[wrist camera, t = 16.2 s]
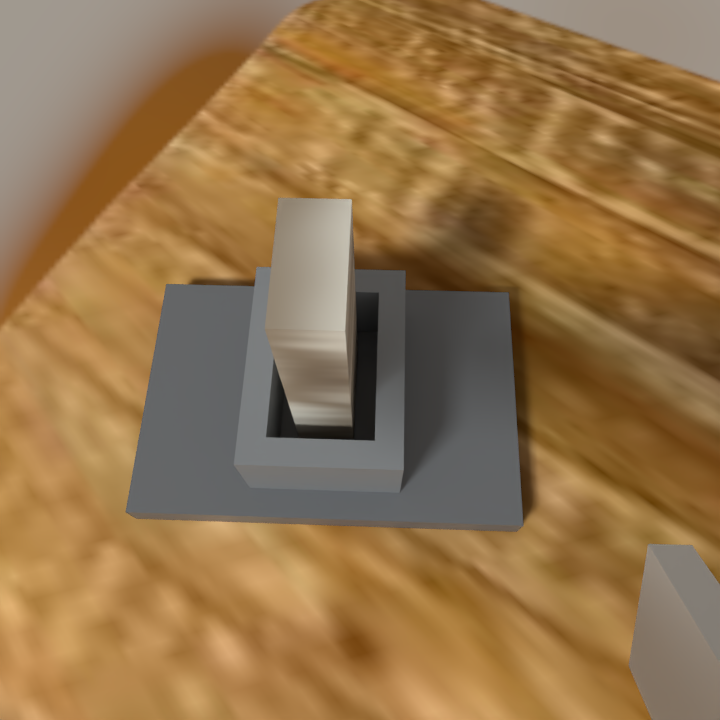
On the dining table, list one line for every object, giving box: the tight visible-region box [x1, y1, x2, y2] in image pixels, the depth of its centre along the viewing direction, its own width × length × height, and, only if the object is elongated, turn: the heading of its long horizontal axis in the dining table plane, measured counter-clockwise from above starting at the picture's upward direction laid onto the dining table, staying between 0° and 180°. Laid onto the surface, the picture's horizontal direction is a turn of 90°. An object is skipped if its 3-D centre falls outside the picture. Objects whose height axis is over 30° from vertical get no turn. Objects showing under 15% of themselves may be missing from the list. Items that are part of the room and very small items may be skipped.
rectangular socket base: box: [126, 267, 523, 532], centre depth 32 cm, size 18×12×6 cm, turn 88°
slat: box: [265, 198, 358, 440], centre depth 27 cm, size 2×5×12 cm, turn 178°
